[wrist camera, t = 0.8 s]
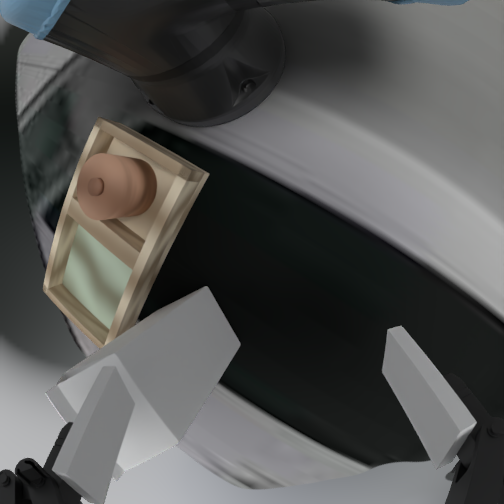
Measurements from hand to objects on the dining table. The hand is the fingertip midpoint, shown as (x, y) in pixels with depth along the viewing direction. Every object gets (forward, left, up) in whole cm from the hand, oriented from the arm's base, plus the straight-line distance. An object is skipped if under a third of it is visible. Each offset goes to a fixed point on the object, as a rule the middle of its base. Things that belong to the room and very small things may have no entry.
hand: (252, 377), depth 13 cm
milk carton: (+6, -9, -16) cm, 19 cm away
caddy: (-3, -19, -15) cm, 25 cm away
